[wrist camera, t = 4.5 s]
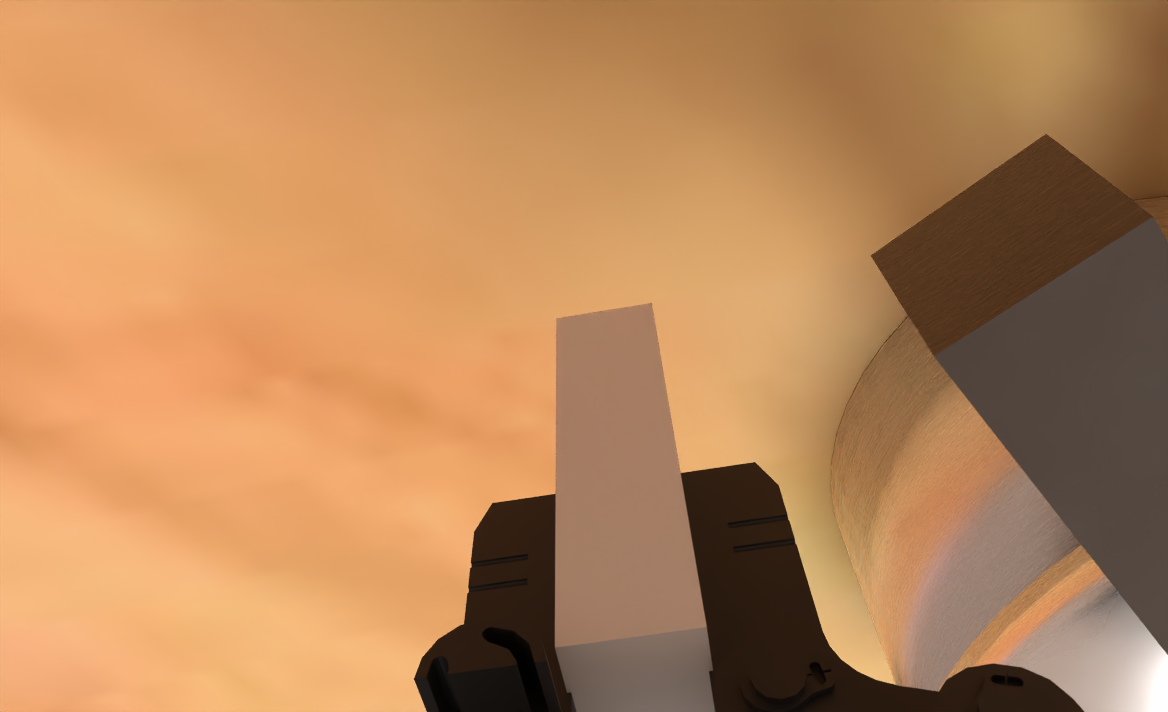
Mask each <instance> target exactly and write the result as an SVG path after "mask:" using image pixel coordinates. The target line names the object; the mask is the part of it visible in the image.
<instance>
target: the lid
mask: <svg viewBox="0 0 1168 712" xmlns="http://www.w3.org/2000/svg"><path fill="white" fill-rule="evenodd" d="M871 257H872V258H873V260H874V261H875V263H876V265H877V266H878V268H879V269H880V271H881V273H882V274H883V276H884V277H885V279H886V281H887V282H888V284H889V285H890V287H891V289H892V290H893V292H894V293H895V295H896V297H897V298H898V300H899V301H900V303H901V305H902V306H903V308H904V309H905V311H906V313H907V314H908V316H909V317H910V319H911V321H912V322H913V324H914V325H915V327H916V329H917V330H918V332H919V333H920V335H921V337H922V338H923V340H924V341H925V343H926V345H927V346H928V348H929V349H930V351H931V353H932V354H933V356H934V357H935V358H936V360H937V361H938V362H939V364H940V365H941V366H942V367H943V369H944V370H945V371H946V373H947V374H948V375H949V376H950V378H951V379H952V380H953V381H954V383H955V384H956V385H957V387H958V388H959V389H960V390H961V392H962V393H963V394H964V396H965V397H966V398H967V399H968V401H969V402H970V403H971V404H972V406H973V407H974V408H975V410H976V411H977V412H978V413H979V415H980V416H981V417H982V419H983V420H984V421H985V422H986V424H987V425H988V426H989V427H990V429H991V430H992V431H993V433H994V434H995V435H996V436H997V438H998V439H999V440H1000V442H1001V443H1002V444H1003V445H1004V447H1005V448H1006V449H1007V451H1008V452H1009V453H1010V454H1011V456H1012V457H1013V458H1014V459H1015V461H1016V462H1017V463H1018V465H1019V466H1020V467H1021V468H1022V470H1023V471H1024V472H1025V474H1026V475H1027V476H1028V477H1029V479H1030V480H1031V481H1032V482H1033V484H1034V485H1035V486H1036V488H1037V489H1038V490H1039V491H1040V493H1041V494H1042V495H1043V497H1044V498H1045V499H1046V500H1047V502H1048V503H1049V504H1050V505H1051V507H1052V508H1053V509H1054V511H1055V512H1056V513H1057V514H1058V516H1059V517H1060V518H1061V520H1062V521H1063V522H1064V523H1065V525H1066V526H1067V527H1068V528H1069V530H1070V531H1071V532H1072V534H1073V535H1074V536H1075V537H1076V539H1077V540H1078V541H1079V543H1080V544H1081V546H1079V547H1078V548H1077V549H1075V550H1074V551H1072V552H1071V553H1070V554H1068V555H1067V556H1065V557H1064V558H1063V559H1061V560H1060V561H1059V562H1057V563H1056V564H1054V565H1053V566H1052V567H1050V568H1049V569H1048V570H1046V571H1045V572H1044V573H1043V574H1042V575H1041V576H1040V577H1038V578H1037V579H1036V580H1035V581H1034V582H1033V583H1032V584H1030V585H1029V586H1028V587H1027V588H1026V589H1025V590H1024V591H1023V592H1021V593H1020V594H1019V595H1018V596H1017V597H1016V598H1015V599H1013V600H1012V601H1011V602H1010V603H1009V604H1008V605H1007V606H1006V607H1004V608H1003V609H1002V610H1001V612H1000V613H999V614H998V615H997V616H996V617H995V618H994V619H993V620H992V621H991V623H990V624H989V625H988V626H987V627H986V628H985V629H984V630H983V631H982V632H981V634H980V635H979V636H978V637H977V638H976V639H975V640H974V641H973V642H972V643H971V645H970V646H969V647H968V648H967V649H966V651H965V652H964V654H963V655H962V656H961V658H960V659H959V661H958V662H957V664H956V665H955V666H954V668H953V669H952V671H951V672H950V673H949V675H948V676H947V678H946V679H945V681H946V680H947V679H949V678H950V677H952V676H954V675H955V674H957V673H959V672H960V671H962V670H964V669H965V668H968V667H974V666H980V665H986V664H992V663H994V664H1001V665H1009V666H1016V667H1022V668H1025V669H1027V670H1029V671H1032V672H1034V673H1036V674H1039V675H1041V676H1043V677H1045V678H1048V679H1050V680H1051V681H1052V682H1054V683H1055V684H1056V685H1057V686H1059V687H1060V688H1061V689H1062V690H1063V691H1065V692H1066V693H1067V694H1068V695H1069V696H1071V697H1072V698H1073V699H1074V700H1075V701H1076V703H1077V704H1078V705H1079V706H1080V707H1081V708H1082V709H1083V711H1084V712H1168V241H1167V239H1166V238H1165V236H1164V234H1163V232H1162V231H1161V229H1160V227H1159V226H1158V224H1157V222H1156V220H1155V219H1154V217H1153V216H1152V215H1151V214H1149V213H1148V212H1147V211H1145V210H1144V209H1143V208H1142V207H1140V206H1139V205H1138V204H1136V203H1135V202H1134V201H1133V200H1131V199H1130V198H1129V197H1127V196H1126V195H1125V194H1123V193H1122V192H1121V191H1120V190H1118V189H1117V188H1116V187H1114V186H1113V185H1112V184H1111V183H1109V182H1108V181H1107V180H1105V179H1104V178H1103V177H1101V176H1100V175H1099V174H1098V173H1096V172H1095V171H1094V170H1092V169H1091V168H1090V167H1089V166H1087V165H1086V164H1085V163H1083V162H1082V161H1081V160H1079V159H1078V158H1077V157H1076V156H1074V155H1073V154H1072V153H1070V152H1069V151H1068V150H1066V149H1065V148H1064V147H1063V146H1061V145H1060V144H1059V143H1057V142H1056V141H1055V140H1054V139H1052V138H1051V137H1050V136H1048V135H1047V134H1045V135H1044V136H1043V137H1041V138H1040V139H1038V140H1037V141H1035V142H1034V143H1032V144H1031V145H1030V146H1028V147H1027V148H1025V149H1024V150H1022V151H1021V152H1020V153H1018V154H1017V155H1015V156H1014V157H1012V158H1011V159H1009V160H1008V161H1007V162H1005V163H1004V164H1002V165H1001V166H999V167H998V168H996V169H995V170H994V171H992V172H991V173H989V174H988V175H986V176H985V177H983V178H982V179H981V180H979V181H978V182H976V183H975V184H973V185H972V186H970V187H969V188H968V189H966V190H965V191H963V192H962V193H960V194H959V195H958V196H956V197H955V198H953V199H952V200H950V201H949V202H947V203H946V204H945V205H943V206H942V207H940V208H939V209H937V210H936V211H934V212H933V213H932V214H930V215H929V216H927V217H926V218H924V219H923V220H921V221H920V222H919V223H917V224H916V225H914V226H913V227H911V228H910V229H908V230H907V231H906V232H904V233H903V234H901V235H900V236H898V237H897V238H895V239H894V240H893V241H891V242H890V243H888V244H887V245H885V246H884V247H883V248H881V249H880V250H878V251H877V252H875V253H874V254H872V255H871ZM945 681H944V682H943V683H942V685H941V686H940V688H939V690H940V689H941V687H942V686H943V684H944V683H945ZM939 690H938V691H939Z"/></svg>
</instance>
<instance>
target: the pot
mask: <svg viewBox="0 0 1168 712" xmlns="http://www.w3.org/2000/svg"><path fill="white" fill-rule="evenodd" d="M1133 201H1134V202H1135V203H1136V204H1138V205H1139V206H1140V207H1142V208H1143V209H1144V210H1145V211H1147V212H1148V213H1149V214H1151V215H1152V216H1153V217H1154V219H1155V220H1156V222H1157V224H1158V226H1159V227H1160V229H1161V231H1162V232H1163V234H1164V236H1165V238H1166V239H1167V241H1168V196H1166V197H1157V198H1149V199H1140V200H1133ZM831 494H832V500H833V507H834V513H835V517H836V520H837V523H838V526H839V529H840V532H841V535H842V538H843V540H844V543H845V546H846V549H847V551H848V554H849V557H850V560H851V562H852V565H853V568H854V571H855V573H856V576H857V579H858V582H859V584H860V587H861V590H862V593H863V596H864V598H865V601H866V604H867V607H868V609H869V612H870V615H871V618H872V620H873V623H874V626H875V629H876V631H877V634H878V637H879V640H880V642H881V645H882V648H883V651H884V653H885V656H886V659H887V662H888V664H889V667H890V670H891V673H892V675H893V678H894V681H895V684H896V685H899V686H905V687H912V688H919V689H925V690H932V691H938V690H939V688H940V686H941V685H942V683H943V682H944V681H945V679H946V678H947V676H948V675H949V673H950V672H951V671H952V669H953V668H954V666H955V665H956V664H957V662H958V661H959V659H960V658H961V656H962V655H963V654H964V652H965V651H966V649H967V648H968V647H969V646H970V645H971V643H972V642H973V641H974V640H975V639H976V638H977V637H978V636H979V635H980V634H981V632H982V631H983V630H984V629H985V628H986V627H987V626H988V625H989V624H990V623H991V621H992V620H993V619H994V618H995V617H996V616H997V615H998V614H999V613H1000V612H1001V610H1002V609H1003V608H1004V607H1006V606H1007V605H1008V604H1009V603H1010V602H1011V601H1012V600H1013V599H1015V598H1016V597H1017V596H1018V595H1019V594H1020V593H1021V592H1023V591H1024V590H1025V589H1026V588H1027V587H1028V586H1029V585H1030V584H1032V583H1033V582H1034V581H1035V580H1036V579H1037V578H1038V577H1040V576H1041V575H1042V574H1043V573H1044V572H1045V571H1046V570H1048V569H1049V568H1050V567H1052V566H1053V565H1054V564H1056V563H1057V562H1059V561H1060V560H1061V559H1063V558H1064V557H1065V556H1067V555H1068V554H1070V553H1071V552H1072V551H1074V550H1075V549H1077V548H1078V547H1079V546H1081V544H1080V543H1079V541H1078V540H1077V539H1076V537H1075V536H1074V535H1073V534H1072V532H1071V531H1070V530H1069V528H1068V527H1067V526H1066V525H1065V523H1064V522H1063V521H1062V520H1061V518H1060V517H1059V516H1058V514H1057V513H1056V512H1055V511H1054V509H1053V508H1052V507H1051V505H1050V504H1049V503H1048V502H1047V500H1046V499H1045V498H1044V497H1043V495H1042V494H1041V493H1040V491H1039V490H1038V489H1037V488H1036V486H1035V485H1034V484H1033V482H1032V481H1031V480H1030V479H1029V477H1028V476H1027V475H1026V474H1025V472H1024V471H1023V470H1022V468H1021V467H1020V466H1019V465H1018V463H1017V462H1016V461H1015V459H1014V458H1013V457H1012V456H1011V454H1010V453H1009V452H1008V451H1007V449H1006V448H1005V447H1004V445H1003V444H1002V443H1001V442H1000V440H999V439H998V438H997V436H996V435H995V434H994V433H993V431H992V430H991V429H990V427H989V426H988V425H987V424H986V422H985V421H984V420H983V419H982V417H981V416H980V415H979V413H978V412H977V411H976V410H975V408H974V407H973V406H972V404H971V403H970V402H969V401H968V399H967V398H966V397H965V396H964V394H963V393H962V392H961V390H960V389H959V388H958V387H957V385H956V384H955V383H954V381H953V380H952V379H951V378H950V376H949V375H948V374H947V373H946V371H945V370H944V369H943V367H942V366H941V365H940V364H939V362H938V361H937V360H936V358H935V357H934V356H933V354H932V353H931V351H930V349H929V348H928V346H927V345H926V343H925V341H924V340H923V338H922V337H921V335H920V333H919V332H918V330H917V329H916V327H915V325H914V324H913V322H912V321H911V319H910V317H909V316H908V317H907V318H906V319H905V321H904V322H903V323H902V324H901V325H900V326H899V327H898V329H897V330H896V331H895V332H894V333H893V334H892V335H891V337H890V338H889V339H888V340H887V341H886V342H885V343H884V345H883V346H882V347H881V349H880V350H879V352H878V353H877V355H876V356H875V357H874V359H873V360H872V362H871V363H870V365H869V366H868V368H867V369H866V371H865V372H864V373H863V375H862V377H861V379H860V381H859V383H858V385H857V386H856V388H855V390H854V392H853V394H852V396H851V398H850V400H849V402H848V404H847V406H846V409H845V412H844V415H843V418H842V421H841V424H840V427H839V429H838V432H837V436H836V441H835V447H834V452H833V457H832V463H831Z"/></svg>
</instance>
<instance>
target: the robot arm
mask: <svg viewBox="0 0 1168 712" xmlns="http://www.w3.org/2000/svg"><path fill="white" fill-rule="evenodd" d="M471 564H472V568H470V576H469V585H468V588H469V593H468V594H467V603H466V612H465V621H464V625H460V626H459V627H457V628H455V629H454V630H452V631H451V632H449V633H447V634H446V635H444V636H443V637H441V638H439V639H438V640H437V641H436V642H435V644H434V645H433V646H432V647H431V648H430V649H429V650H428V652H427V653H426V654H425V655H424V656H423V657H422V659H421V662H420V665H419V667H418V670H417V672H416V675H415V678H414V680H415V683H416V685H417V688H418V690H419V693H420V695H421V698H422V700H423V703H424V706H425V708H426V711H427V712H1084V711H1083V709H1082V708H1081V707H1080V706H1079V705H1078V704H1077V703H1076V701H1075V700H1074V699H1073V698H1072V697H1071V696H1069V695H1068V694H1067V693H1066V692H1065V691H1063V690H1062V689H1061V688H1060V687H1059V686H1057V685H1056V684H1055V683H1054V682H1052V681H1051V680H1050V679H1048V678H1045V677H1043V676H1041V675H1039V674H1036V673H1034V672H1032V671H1029V670H1027V669H1025V668H1022V667H1016V666H1009V665H1001V664H994V663H992V664H986V665H980V666H974V667H968V668H965V669H964V670H962V671H960V672H959V673H957V674H955V675H954V676H952V677H950V678H949V679H947V680H946V681H945V683H944V684H943V686H942V687H941V689H940V690H939V691H932V690H925V689H919V688H912V687H905V686H899V685H894V684H890V683H886V682H882V681H878V680H875V679H873V678H870V677H868V676H866V675H864V674H862V673H860V672H857V671H856V670H854V669H853V668H852V667H850V666H849V665H848V664H846V663H845V662H844V661H842V660H841V659H840V658H839V657H838V655H837V654H836V653H835V652H834V651H833V650H832V648H831V647H830V646H829V644H828V642H827V640H826V637H825V635H824V633H823V631H822V628H821V624H820V621H819V618H818V614H817V611H816V608H815V604H814V601H813V598H812V594H811V591H810V588H809V585H808V581H807V578H806V575H805V571H804V568H803V565H802V561H801V558H800V555H799V551H798V548H797V545H796V544H795V538H794V535H793V532H792V528H791V525H790V522H789V520H788V516H787V512H786V508H785V505H784V502H783V499H782V495H781V492H780V489H779V485H778V484H777V483H776V482H775V481H774V480H773V479H772V478H771V477H770V476H769V475H767V474H766V473H765V472H764V471H763V470H762V469H761V468H760V467H759V466H758V465H757V464H756V463H755V462H753V463H747V464H740V465H733V466H726V467H719V468H713V469H706V470H699V471H692V472H685V473H680V467H679V461H678V455H677V449H676V443H675V438H674V432H673V426H672V420H671V414H670V408H669V402H668V396H667V391H666V385H665V379H664V373H663V367H662V361H661V355H660V349H659V343H658V338H657V332H656V326H655V320H654V314H653V308H652V303H650V304H644V305H638V306H631V307H625V308H619V309H613V310H606V311H600V312H594V313H588V314H581V315H575V316H569V317H563V318H557V333H556V494H552V495H545V496H539V497H532V498H525V499H518V500H511V501H504V502H498V503H492V505H491V506H490V508H489V509H488V511H487V513H486V514H485V516H484V517H483V519H482V520H481V522H480V524H479V525H478V527H477V528H476V530H475V532H474V539H473V548H472V557H471Z"/></svg>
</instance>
